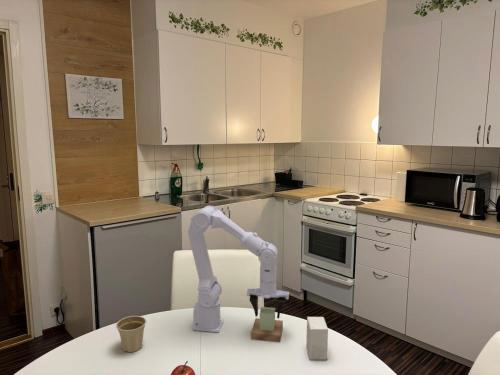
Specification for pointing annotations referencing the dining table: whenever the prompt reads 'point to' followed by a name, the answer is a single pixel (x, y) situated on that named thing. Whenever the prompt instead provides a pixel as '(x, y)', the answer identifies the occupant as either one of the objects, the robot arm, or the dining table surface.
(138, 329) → the flower pot
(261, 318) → the sage block
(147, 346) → the dining table surface
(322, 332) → the small box
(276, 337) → the walnut pad
